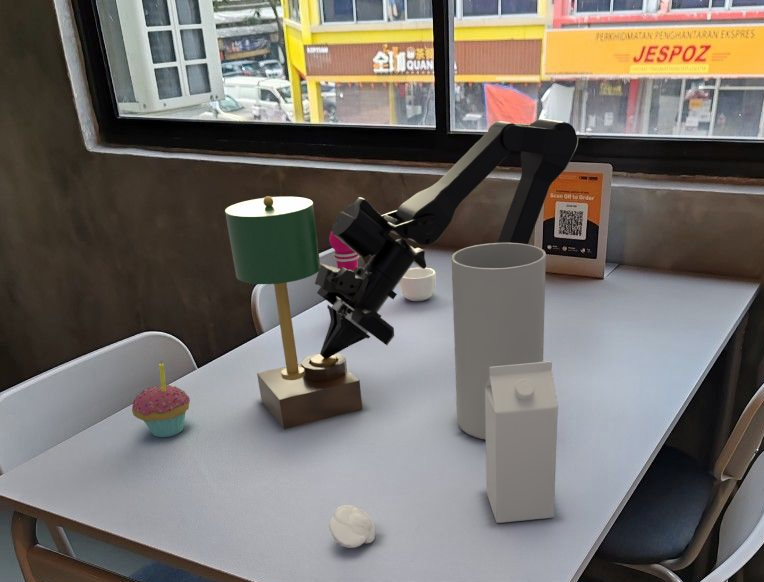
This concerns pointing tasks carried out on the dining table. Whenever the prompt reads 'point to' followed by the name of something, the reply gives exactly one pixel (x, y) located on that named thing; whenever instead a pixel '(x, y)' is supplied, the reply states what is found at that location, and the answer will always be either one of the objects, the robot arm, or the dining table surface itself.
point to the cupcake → (162, 408)
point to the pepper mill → (343, 254)
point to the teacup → (418, 284)
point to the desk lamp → (275, 254)
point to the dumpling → (351, 527)
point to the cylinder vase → (494, 319)
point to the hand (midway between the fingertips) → (323, 356)
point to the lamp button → (322, 361)
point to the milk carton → (521, 441)
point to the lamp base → (310, 393)
